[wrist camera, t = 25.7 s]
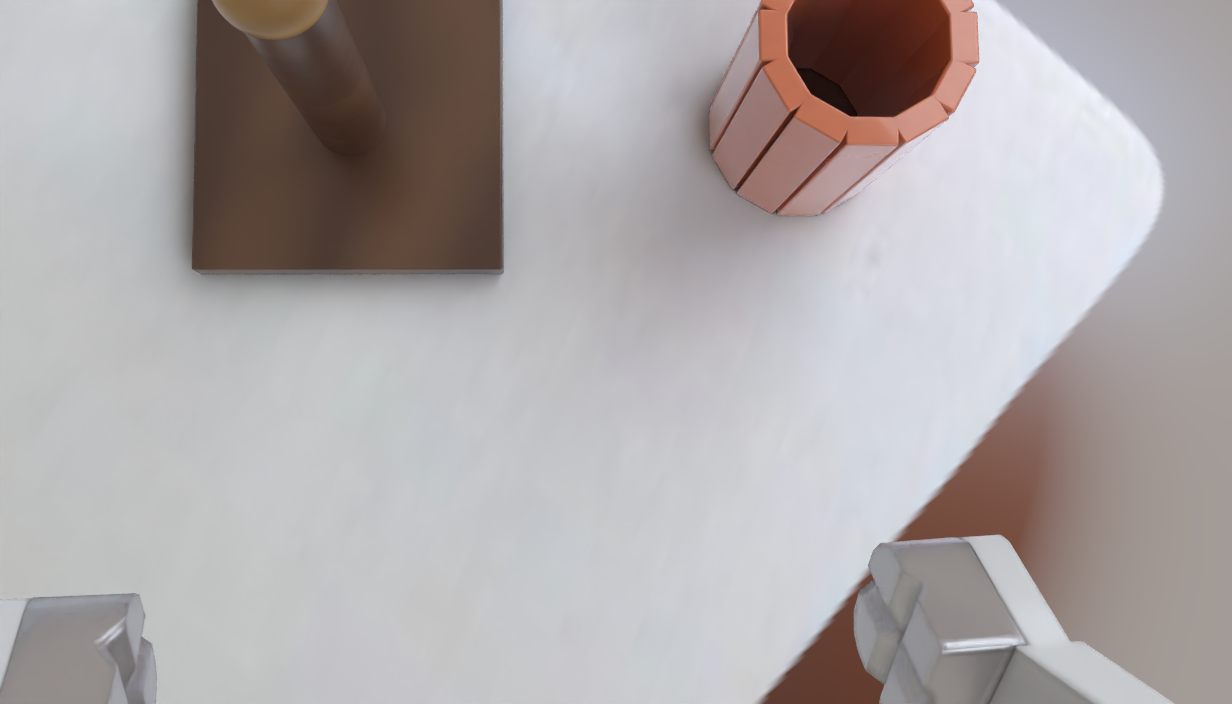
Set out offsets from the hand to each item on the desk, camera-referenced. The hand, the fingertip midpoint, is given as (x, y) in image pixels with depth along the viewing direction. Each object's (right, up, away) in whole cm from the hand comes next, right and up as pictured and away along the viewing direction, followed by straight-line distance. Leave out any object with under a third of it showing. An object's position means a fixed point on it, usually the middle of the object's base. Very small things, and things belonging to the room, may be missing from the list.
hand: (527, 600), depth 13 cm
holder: (-8, +10, +26) cm, 29 cm away
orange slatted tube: (+7, +10, +27) cm, 30 cm away
